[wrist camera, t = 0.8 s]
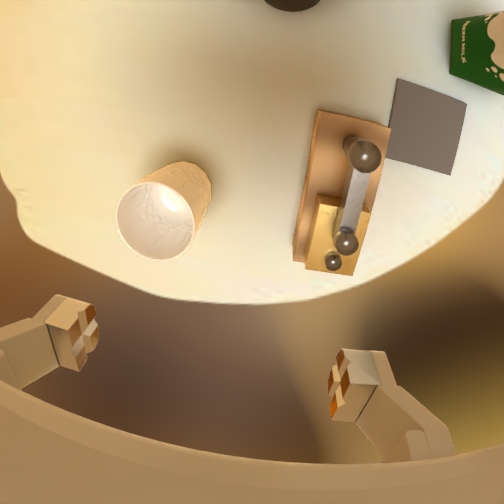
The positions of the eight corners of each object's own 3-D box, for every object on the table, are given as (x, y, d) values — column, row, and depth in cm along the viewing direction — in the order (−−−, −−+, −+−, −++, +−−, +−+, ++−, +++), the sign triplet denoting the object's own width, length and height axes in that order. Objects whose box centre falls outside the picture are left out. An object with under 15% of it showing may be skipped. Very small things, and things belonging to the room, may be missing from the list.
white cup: (209, 150, 34) (183, 174, 26) (222, 215, 38) (204, 258, 29) (145, 162, 36) (104, 190, 27) (161, 223, 39) (129, 264, 31)
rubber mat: (396, 79, 28) (398, 79, 28) (464, 103, 28) (466, 103, 28) (381, 155, 33) (383, 157, 32) (448, 174, 33) (450, 175, 32)
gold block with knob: (317, 193, 32) (320, 206, 28) (364, 202, 32) (373, 216, 28) (303, 254, 35) (305, 273, 32) (347, 261, 35) (353, 280, 32)
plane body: (317, 109, 31) (325, 115, 25) (379, 123, 31) (400, 133, 25) (292, 244, 39) (293, 274, 33) (348, 252, 39) (358, 284, 33)
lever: (348, 133, 26) (356, 140, 23) (376, 140, 26) (387, 148, 23) (325, 235, 30) (330, 253, 27) (351, 239, 30) (358, 257, 27)
